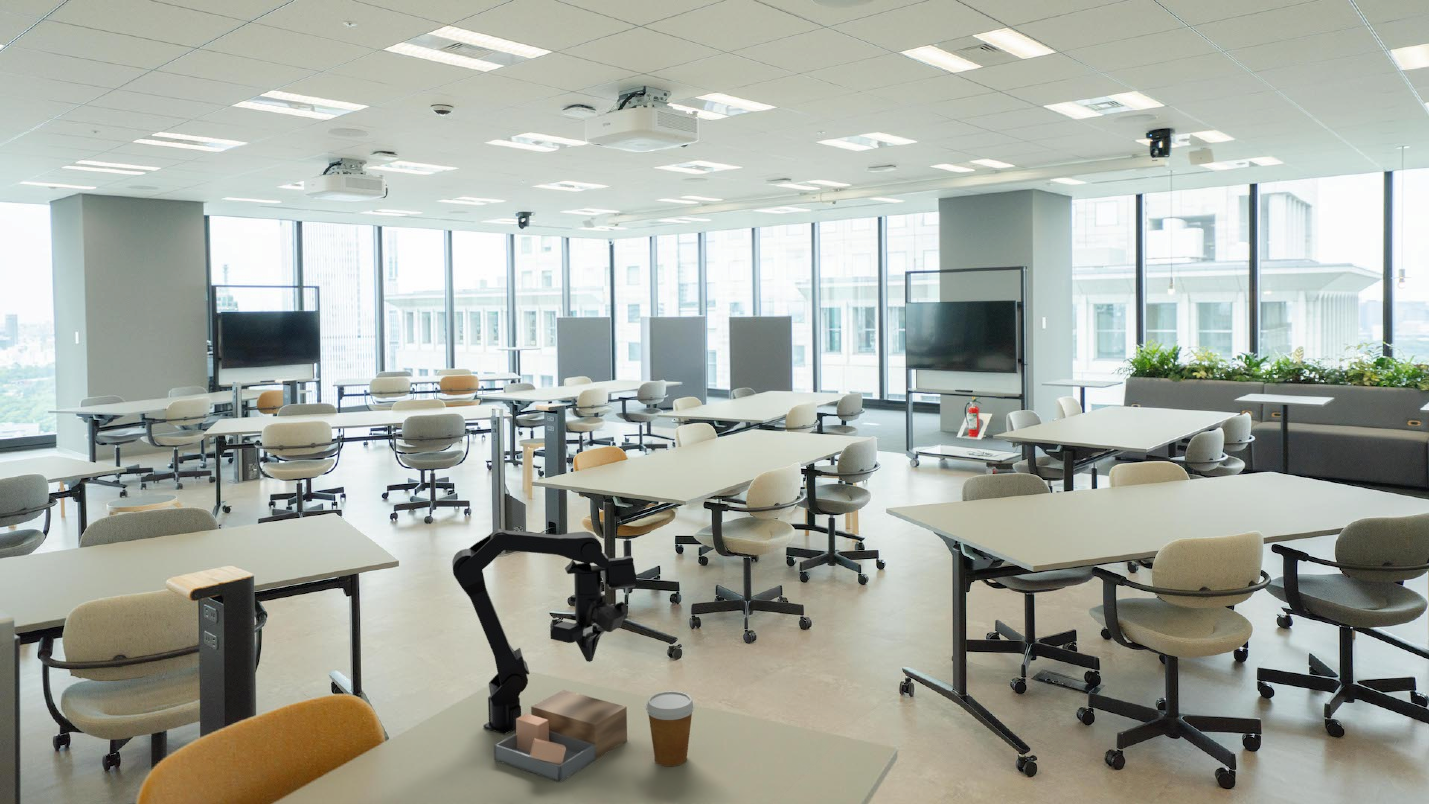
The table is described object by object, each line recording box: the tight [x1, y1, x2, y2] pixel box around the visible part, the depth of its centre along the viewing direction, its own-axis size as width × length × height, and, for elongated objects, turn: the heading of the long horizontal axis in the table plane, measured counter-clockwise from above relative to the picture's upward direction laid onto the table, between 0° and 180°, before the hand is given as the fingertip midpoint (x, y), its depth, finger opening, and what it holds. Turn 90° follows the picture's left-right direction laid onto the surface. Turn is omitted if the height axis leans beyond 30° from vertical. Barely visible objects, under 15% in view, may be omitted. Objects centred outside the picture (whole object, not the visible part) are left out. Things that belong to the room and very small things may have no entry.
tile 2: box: [530, 738, 566, 764], centre depth 174 cm, size 6×6×3 cm
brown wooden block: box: [530, 689, 628, 760], centre depth 186 cm, size 17×10×7 cm, turn 58°
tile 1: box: [515, 712, 549, 752], centre depth 182 cm, size 6×6×3 cm
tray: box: [493, 731, 597, 783], centre depth 178 cm, size 17×10×3 cm, turn 58°
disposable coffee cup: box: [645, 690, 695, 767], centre depth 177 cm, size 10×10×12 cm
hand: (589, 661), depth 198 cm, fingers closed
